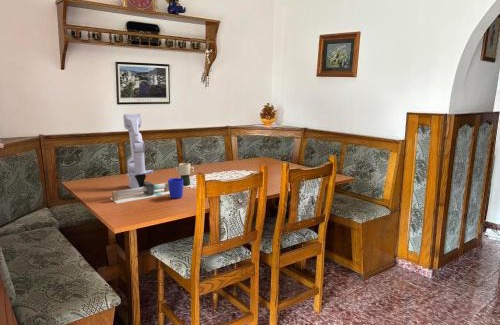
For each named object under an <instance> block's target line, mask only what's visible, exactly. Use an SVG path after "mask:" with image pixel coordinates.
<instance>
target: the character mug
mask: <svg viewBox="0 0 500 325" xmlns="http://www.w3.org/2000/svg"><path fill="white" fill-rule="evenodd" d="M175 171H176V173H178V174H179V175H180V178H181V179H183V186H187V185H191V178H190V174H191V173H194V172H195V167H194V166H191V163H188V162H181V163H179V164H178V166H176V167H175Z"/></svg>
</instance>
